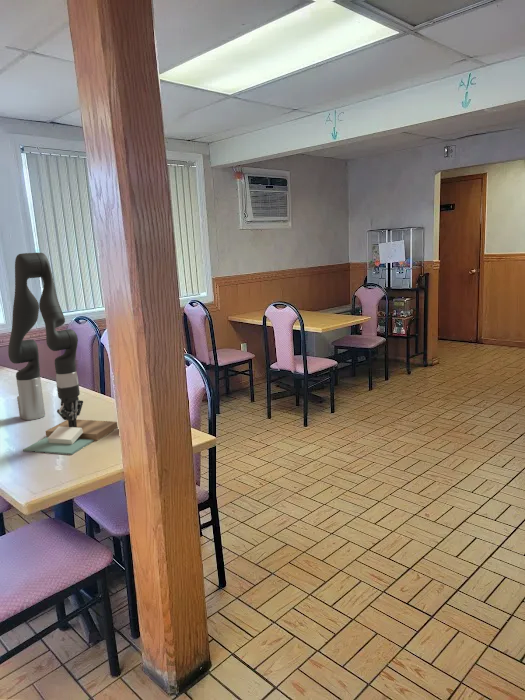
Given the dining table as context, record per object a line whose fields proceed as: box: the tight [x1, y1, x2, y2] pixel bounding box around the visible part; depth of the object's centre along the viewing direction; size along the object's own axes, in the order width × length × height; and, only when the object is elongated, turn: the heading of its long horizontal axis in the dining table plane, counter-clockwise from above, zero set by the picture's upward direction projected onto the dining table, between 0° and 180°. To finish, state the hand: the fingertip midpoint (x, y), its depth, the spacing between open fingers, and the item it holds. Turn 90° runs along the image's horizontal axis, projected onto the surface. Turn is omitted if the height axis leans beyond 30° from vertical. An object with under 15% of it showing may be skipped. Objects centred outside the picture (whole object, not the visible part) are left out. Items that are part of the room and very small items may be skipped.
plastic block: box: [47, 426, 83, 444], centre depth 189 cm, size 10×7×2 cm
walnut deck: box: [45, 419, 119, 442], centre depth 198 cm, size 22×14×2 cm, turn 74°
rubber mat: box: [22, 436, 95, 456], centre depth 185 cm, size 20×13×1 cm, turn 74°
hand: (73, 428), depth 193 cm, fingers closed
